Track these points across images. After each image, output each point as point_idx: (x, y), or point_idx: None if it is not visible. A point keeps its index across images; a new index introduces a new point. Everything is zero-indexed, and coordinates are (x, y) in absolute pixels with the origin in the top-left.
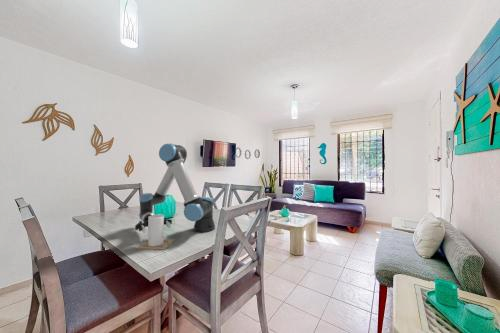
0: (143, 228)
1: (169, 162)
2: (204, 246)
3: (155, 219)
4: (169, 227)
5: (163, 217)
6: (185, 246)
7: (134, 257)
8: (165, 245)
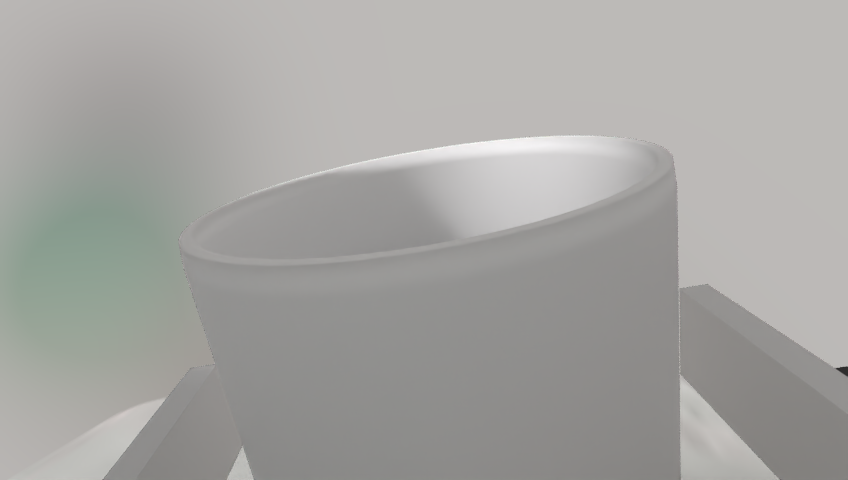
0: (718, 301)
1: None
2: (142, 420)
3: (471, 171)
4: (235, 432)
5: (278, 216)
6: (236, 472)
7: (728, 430)
8: None
